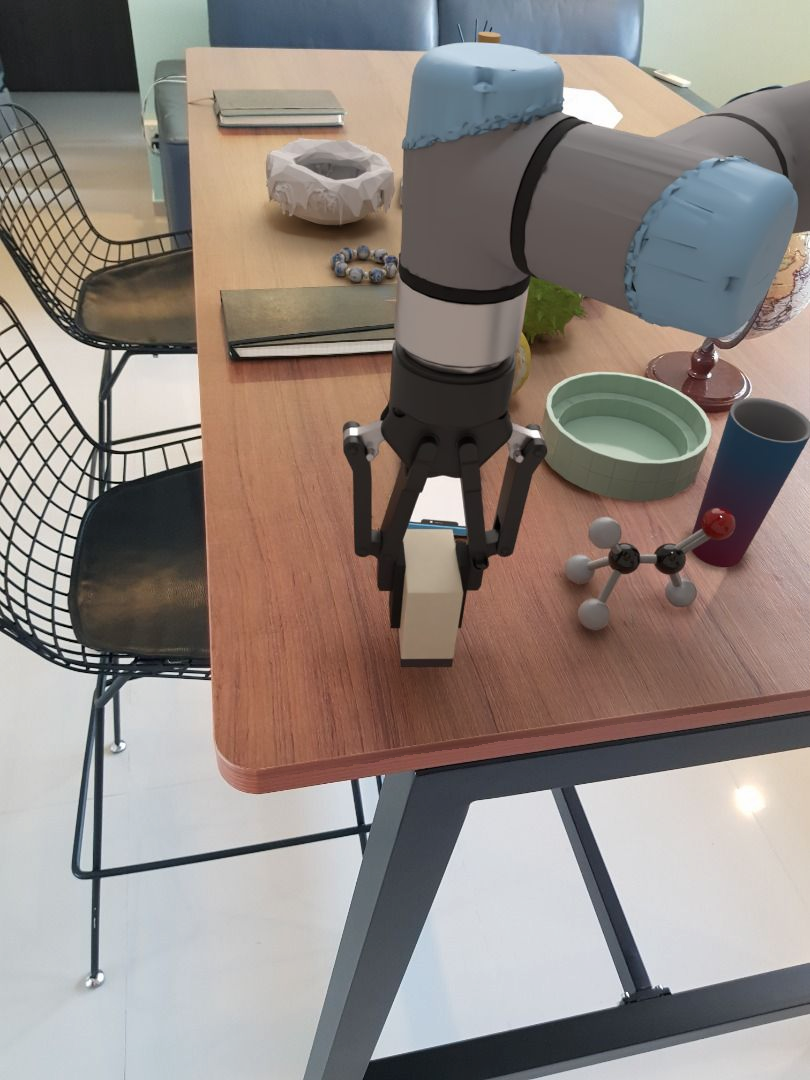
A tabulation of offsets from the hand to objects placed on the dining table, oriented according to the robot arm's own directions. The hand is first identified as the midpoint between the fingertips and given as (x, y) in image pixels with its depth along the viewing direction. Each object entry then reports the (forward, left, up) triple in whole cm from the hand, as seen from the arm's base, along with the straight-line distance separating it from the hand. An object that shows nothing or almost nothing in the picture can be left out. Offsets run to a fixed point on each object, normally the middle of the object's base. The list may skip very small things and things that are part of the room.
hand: (424, 615), depth 66 cm
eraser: (0, 0, -2) cm, 2 cm away
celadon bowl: (+28, -24, -5) cm, 37 cm away
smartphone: (+22, -4, -5) cm, 23 cm away
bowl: (+92, +7, -5) cm, 93 cm away
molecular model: (+6, -20, -5) cm, 21 cm away
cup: (+13, -30, -5) cm, 33 cm away
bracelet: (+73, +2, -5) cm, 73 cm away
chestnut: (+55, -19, -5) cm, 59 cm away
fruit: (+39, -10, -5) cm, 41 cm away
